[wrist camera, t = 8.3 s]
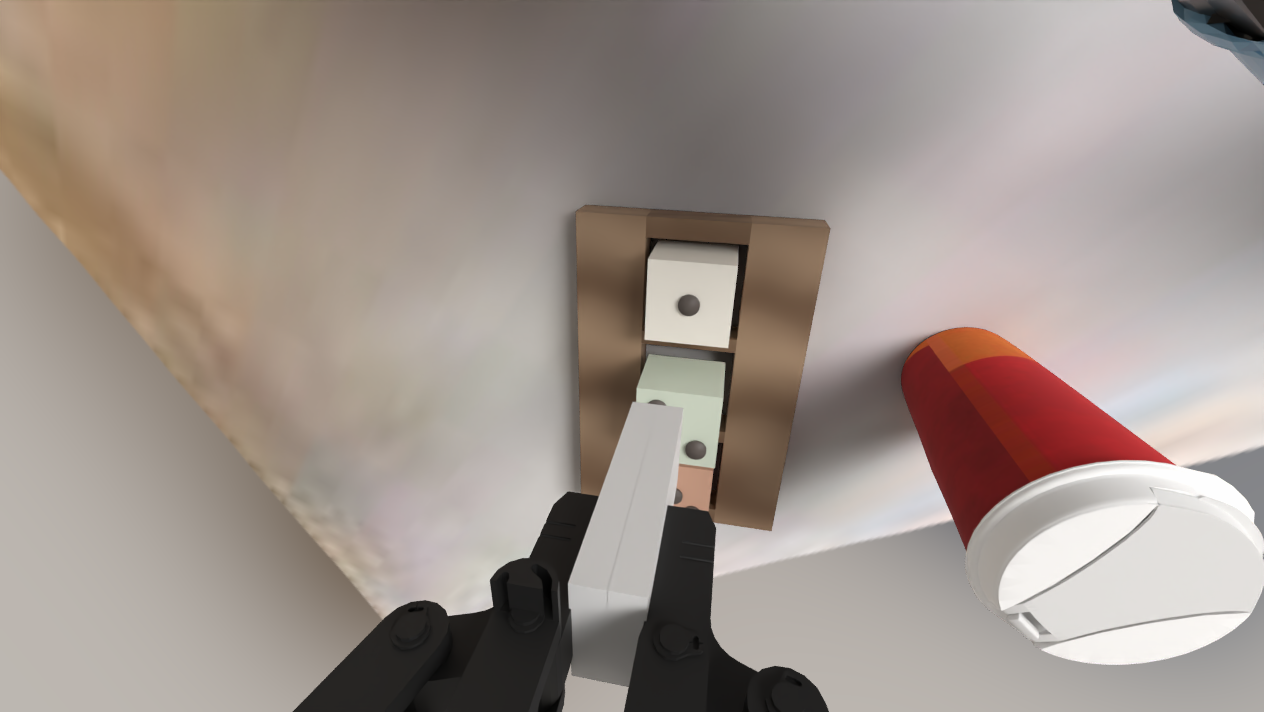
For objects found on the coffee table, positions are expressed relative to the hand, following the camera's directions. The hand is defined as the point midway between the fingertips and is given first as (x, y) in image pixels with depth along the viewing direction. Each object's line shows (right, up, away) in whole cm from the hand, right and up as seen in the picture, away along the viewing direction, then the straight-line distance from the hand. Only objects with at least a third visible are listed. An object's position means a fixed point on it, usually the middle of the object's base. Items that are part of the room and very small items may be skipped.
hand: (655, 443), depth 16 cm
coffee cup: (+18, +2, +14) cm, 23 cm away
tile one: (+3, +7, +14) cm, 16 cm away
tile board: (+3, +2, +17) cm, 18 cm away
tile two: (+2, +1, +15) cm, 16 cm away
